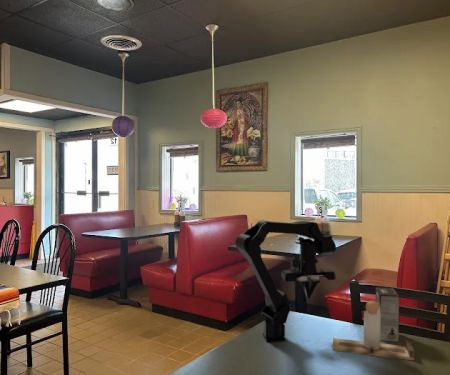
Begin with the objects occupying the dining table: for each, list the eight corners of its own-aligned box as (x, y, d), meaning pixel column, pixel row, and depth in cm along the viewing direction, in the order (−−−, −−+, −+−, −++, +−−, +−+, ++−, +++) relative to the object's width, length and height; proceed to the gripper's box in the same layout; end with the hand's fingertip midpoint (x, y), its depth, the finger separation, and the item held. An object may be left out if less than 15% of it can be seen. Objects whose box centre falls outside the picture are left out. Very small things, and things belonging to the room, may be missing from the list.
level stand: (332, 350, 125) (332, 342, 125) (333, 339, 133) (333, 331, 133) (414, 360, 118) (414, 351, 118) (409, 348, 126) (409, 340, 126)
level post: (364, 348, 124) (364, 302, 123) (363, 342, 129) (363, 297, 128) (380, 350, 122) (381, 304, 122) (379, 343, 127) (379, 299, 127)
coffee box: (374, 330, 142) (375, 286, 141) (393, 331, 140) (393, 287, 140) (379, 340, 133) (379, 294, 132) (399, 342, 131) (399, 295, 131)
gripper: (324, 250, 149) (323, 290, 150) (277, 252, 147) (277, 293, 147) (336, 256, 138) (336, 299, 139) (285, 258, 136) (285, 302, 136)
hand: (308, 298), depth 141 cm, fingers closed
